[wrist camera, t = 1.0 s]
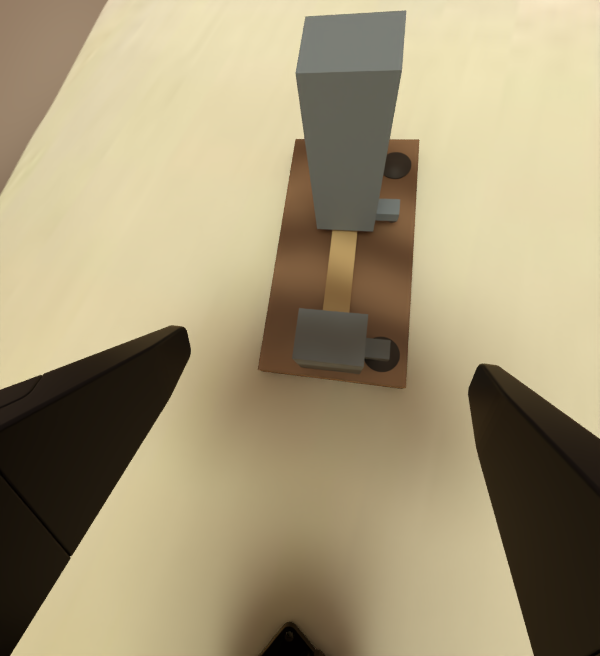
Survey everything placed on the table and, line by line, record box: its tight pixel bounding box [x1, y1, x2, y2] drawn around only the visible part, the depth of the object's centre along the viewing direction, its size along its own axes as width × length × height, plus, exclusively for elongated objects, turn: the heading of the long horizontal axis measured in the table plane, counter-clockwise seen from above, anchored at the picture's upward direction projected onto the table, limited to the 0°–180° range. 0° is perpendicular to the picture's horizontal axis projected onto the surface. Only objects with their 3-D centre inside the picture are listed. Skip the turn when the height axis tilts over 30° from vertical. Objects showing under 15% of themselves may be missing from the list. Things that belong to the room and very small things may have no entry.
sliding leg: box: [296, 11, 406, 232], centre depth 18 cm, size 3×6×12 cm, turn 82°
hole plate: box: [258, 139, 419, 389], centre depth 22 cm, size 20×10×5 cm, turn 172°
